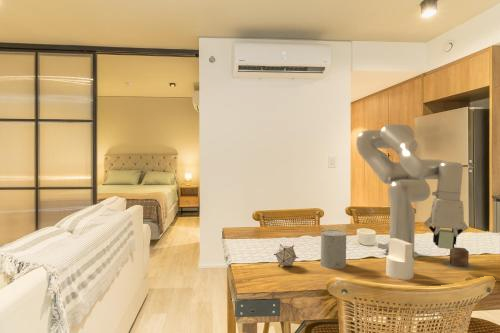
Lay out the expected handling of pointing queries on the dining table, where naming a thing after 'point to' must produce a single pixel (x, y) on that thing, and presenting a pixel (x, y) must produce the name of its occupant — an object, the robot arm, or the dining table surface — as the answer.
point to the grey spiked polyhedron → (285, 255)
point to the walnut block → (459, 257)
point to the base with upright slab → (400, 260)
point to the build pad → (458, 267)
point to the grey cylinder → (333, 249)
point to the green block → (445, 238)
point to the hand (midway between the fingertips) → (444, 244)
